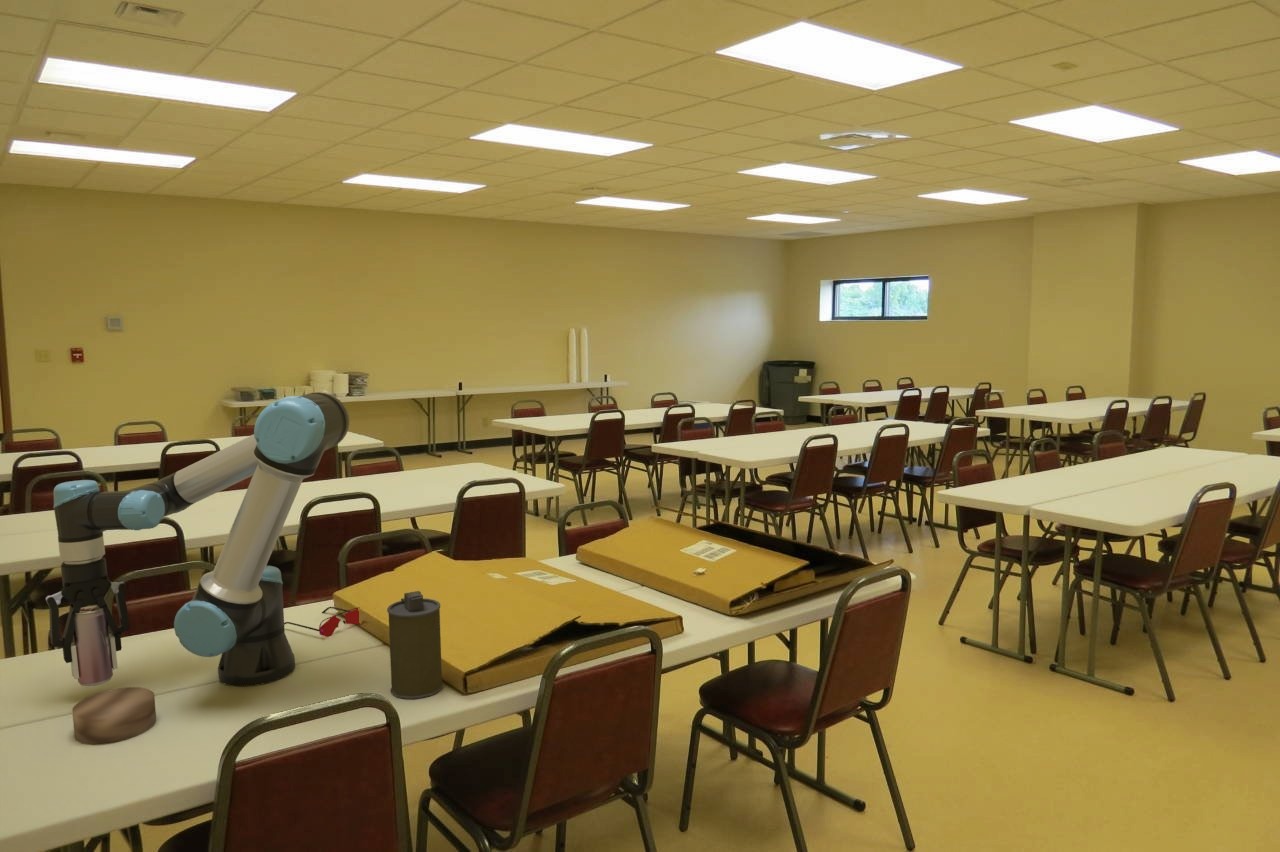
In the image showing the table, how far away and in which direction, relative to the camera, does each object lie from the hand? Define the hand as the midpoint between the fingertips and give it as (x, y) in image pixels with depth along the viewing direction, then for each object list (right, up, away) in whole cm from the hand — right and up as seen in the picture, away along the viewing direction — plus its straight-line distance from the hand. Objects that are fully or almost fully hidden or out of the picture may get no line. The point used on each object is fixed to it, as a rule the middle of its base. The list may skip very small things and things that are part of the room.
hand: (95, 671), depth 175 cm
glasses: (+31, -1, +41) cm, 51 cm away
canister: (+63, -5, +4) cm, 64 cm away
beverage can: (0, -2, 0) cm, 2 cm away
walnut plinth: (+12, -7, -13) cm, 19 cm away
